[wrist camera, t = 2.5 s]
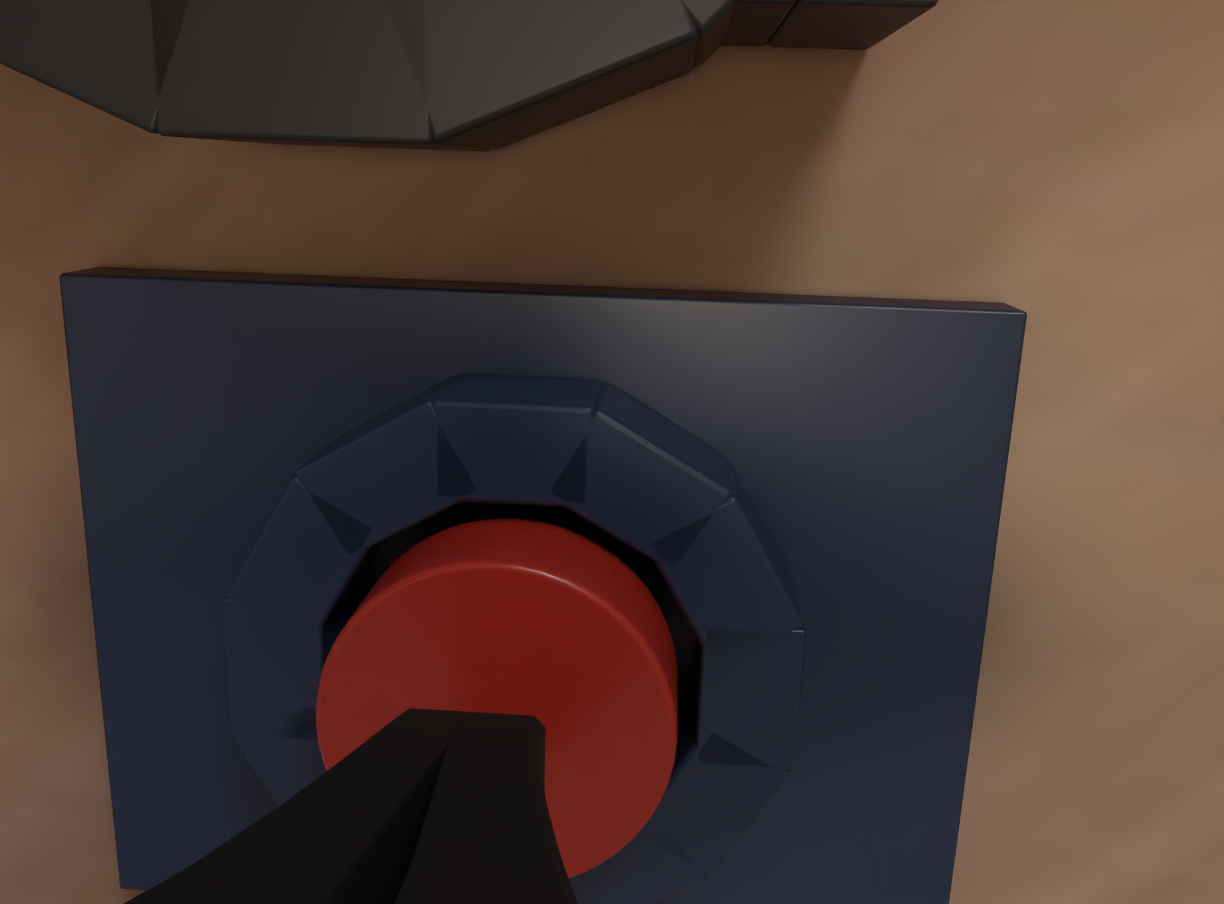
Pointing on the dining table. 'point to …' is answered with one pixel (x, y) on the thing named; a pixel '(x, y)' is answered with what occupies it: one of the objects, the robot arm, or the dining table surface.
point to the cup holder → (397, 60)
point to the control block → (570, 498)
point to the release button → (521, 667)
